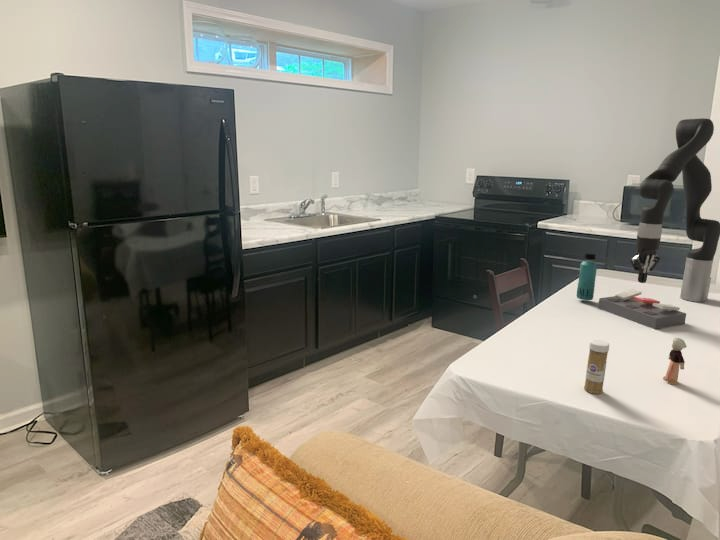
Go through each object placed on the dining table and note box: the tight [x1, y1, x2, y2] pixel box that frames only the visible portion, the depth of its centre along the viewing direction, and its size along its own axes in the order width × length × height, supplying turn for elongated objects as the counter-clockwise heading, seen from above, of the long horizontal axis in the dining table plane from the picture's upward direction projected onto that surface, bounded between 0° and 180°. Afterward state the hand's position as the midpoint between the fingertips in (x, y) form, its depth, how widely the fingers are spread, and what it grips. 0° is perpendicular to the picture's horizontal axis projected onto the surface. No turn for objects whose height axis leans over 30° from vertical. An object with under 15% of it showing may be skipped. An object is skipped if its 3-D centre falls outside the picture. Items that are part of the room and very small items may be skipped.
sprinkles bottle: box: [583, 339, 610, 395], centre depth 138 cm, size 5×5×13 cm
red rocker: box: [634, 296, 661, 305], centre depth 199 cm, size 9×4×2 cm, turn 113°
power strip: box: [597, 295, 687, 330], centre depth 199 cm, size 15×25×4 cm, turn 23°
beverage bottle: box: [576, 252, 598, 301], centre depth 213 cm, size 6×7×20 cm
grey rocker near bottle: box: [614, 288, 642, 300], centre depth 206 cm, size 9×4×2 cm, turn 113°
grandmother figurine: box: [662, 337, 688, 386], centre depth 143 cm, size 8×4×13 cm, turn 5°
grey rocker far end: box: [652, 303, 681, 311], centre depth 192 cm, size 9×4×2 cm, turn 113°
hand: (641, 282), depth 196 cm, fingers closed
